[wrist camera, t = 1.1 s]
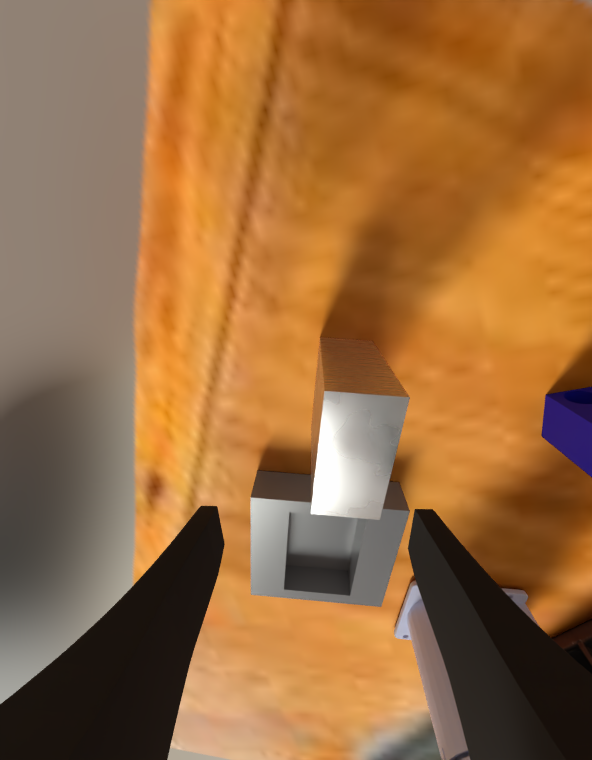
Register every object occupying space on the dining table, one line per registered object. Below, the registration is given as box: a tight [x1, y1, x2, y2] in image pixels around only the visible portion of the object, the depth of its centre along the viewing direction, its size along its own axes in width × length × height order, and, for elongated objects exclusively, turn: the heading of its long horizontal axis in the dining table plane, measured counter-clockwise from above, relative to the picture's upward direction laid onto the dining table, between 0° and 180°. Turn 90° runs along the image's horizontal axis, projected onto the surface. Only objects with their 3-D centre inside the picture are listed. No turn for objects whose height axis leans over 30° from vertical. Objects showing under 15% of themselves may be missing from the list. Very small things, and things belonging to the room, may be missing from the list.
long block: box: [311, 337, 410, 520], centre depth 15 cm, size 3×6×7 cm, turn 177°
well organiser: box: [251, 470, 410, 607], centre depth 22 cm, size 10×10×2 cm
